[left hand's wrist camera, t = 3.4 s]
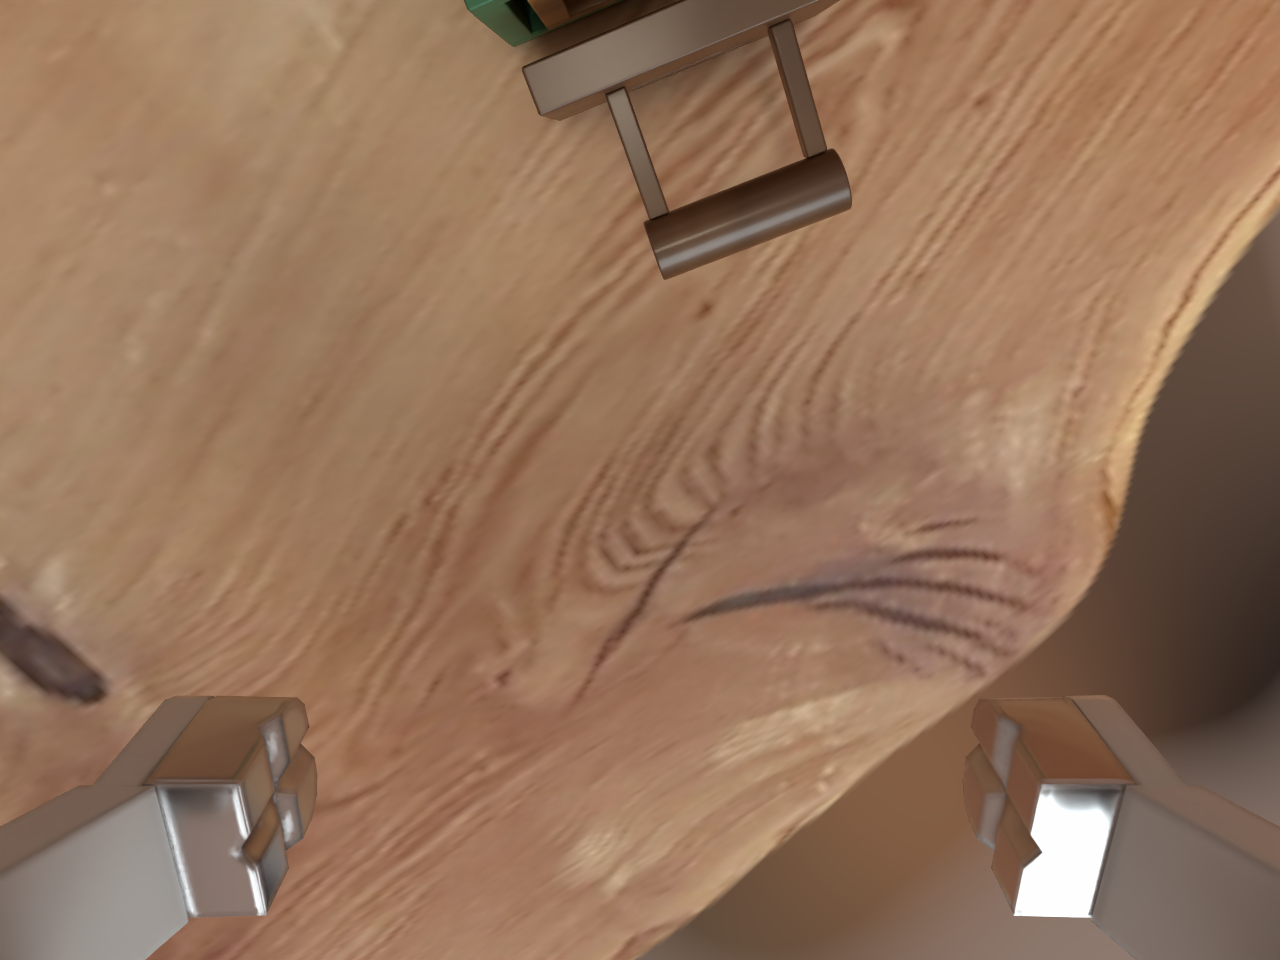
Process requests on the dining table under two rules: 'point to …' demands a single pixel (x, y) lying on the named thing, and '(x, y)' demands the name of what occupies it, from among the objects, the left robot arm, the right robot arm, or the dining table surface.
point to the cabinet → (513, 19)
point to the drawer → (664, 45)
